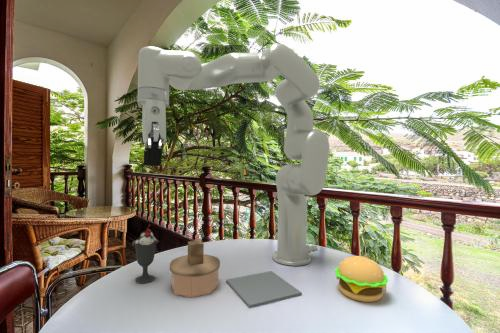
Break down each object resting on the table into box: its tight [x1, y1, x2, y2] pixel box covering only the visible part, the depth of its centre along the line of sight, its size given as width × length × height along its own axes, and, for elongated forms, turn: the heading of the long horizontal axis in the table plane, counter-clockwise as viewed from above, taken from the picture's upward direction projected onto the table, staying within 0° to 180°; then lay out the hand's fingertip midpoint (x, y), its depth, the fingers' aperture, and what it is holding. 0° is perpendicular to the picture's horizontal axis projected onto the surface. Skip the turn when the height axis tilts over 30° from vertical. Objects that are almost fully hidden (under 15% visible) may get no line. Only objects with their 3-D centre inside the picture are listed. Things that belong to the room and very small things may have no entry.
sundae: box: [131, 224, 160, 285], centre depth 69 cm, size 7×7×15 cm
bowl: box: [170, 269, 219, 298], centre depth 66 cm, size 11×11×5 cm
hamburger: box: [334, 255, 389, 303], centre depth 64 cm, size 12×12×9 cm
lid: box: [169, 239, 221, 277], centre depth 66 cm, size 12×12×6 cm
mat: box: [225, 271, 303, 309], centre depth 66 cm, size 14×14×1 cm
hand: (151, 165), depth 66 cm, fingers open, 9 cm apart
